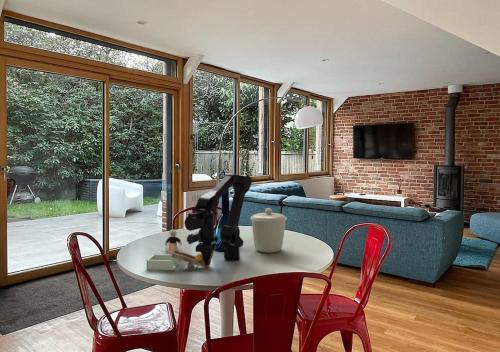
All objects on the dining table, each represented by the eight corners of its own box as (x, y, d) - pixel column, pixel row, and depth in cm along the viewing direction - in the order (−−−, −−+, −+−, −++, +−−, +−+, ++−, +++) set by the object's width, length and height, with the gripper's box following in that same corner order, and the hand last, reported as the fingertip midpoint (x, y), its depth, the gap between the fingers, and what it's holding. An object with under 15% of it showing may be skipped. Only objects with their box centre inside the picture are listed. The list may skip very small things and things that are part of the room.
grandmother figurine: (165, 257, 171) (165, 230, 171) (164, 255, 175) (164, 228, 174) (182, 256, 174) (182, 229, 173) (181, 254, 177) (181, 228, 176)
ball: (204, 261, 159) (205, 252, 158) (202, 263, 155) (203, 255, 155) (196, 259, 159) (196, 251, 159) (194, 262, 155) (195, 253, 155)
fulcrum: (198, 265, 161) (198, 260, 160) (195, 270, 154) (195, 264, 154) (186, 264, 161) (186, 259, 161) (183, 269, 155) (183, 264, 154)
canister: (243, 252, 181) (243, 209, 180) (260, 244, 197) (260, 204, 196) (277, 257, 173) (278, 212, 171) (292, 248, 189) (292, 207, 187)
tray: (178, 263, 162) (178, 254, 162) (172, 270, 154) (172, 260, 153) (153, 263, 163) (153, 254, 163) (146, 269, 154) (146, 260, 154)
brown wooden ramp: (209, 265, 160) (213, 252, 159) (207, 269, 154) (211, 255, 154) (174, 254, 160) (178, 240, 160) (171, 257, 155) (174, 243, 155)
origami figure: (182, 251, 183) (182, 241, 183) (164, 252, 181) (164, 242, 180) (180, 245, 194) (180, 235, 194) (163, 246, 192) (163, 236, 192)
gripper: (193, 221, 166) (193, 256, 167) (182, 231, 147) (183, 269, 148) (218, 222, 165) (218, 256, 166) (210, 231, 146) (210, 270, 147)
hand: (207, 263), depth 157 cm, fingers closed on brown wooden ramp, 4 cm apart
